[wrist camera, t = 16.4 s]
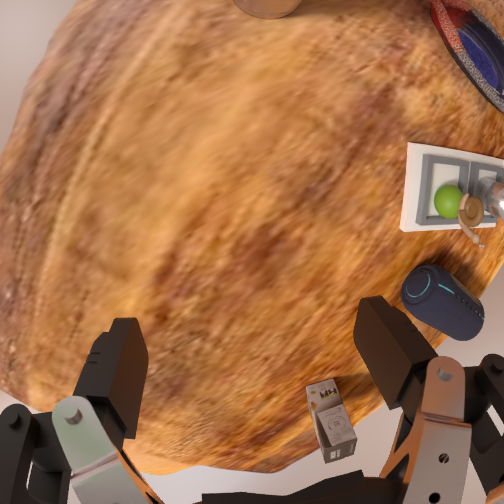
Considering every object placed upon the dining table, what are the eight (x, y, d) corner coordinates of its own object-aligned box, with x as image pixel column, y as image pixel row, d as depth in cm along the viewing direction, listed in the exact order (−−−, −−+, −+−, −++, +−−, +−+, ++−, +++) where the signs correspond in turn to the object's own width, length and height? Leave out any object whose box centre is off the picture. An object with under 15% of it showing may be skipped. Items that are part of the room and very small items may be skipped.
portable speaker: (471, 293, 53) (496, 317, 44) (445, 326, 56) (468, 353, 47) (417, 246, 45) (452, 273, 36) (385, 291, 49) (413, 325, 40)
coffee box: (304, 385, 57) (324, 448, 42) (333, 377, 57) (358, 437, 42) (307, 407, 61) (325, 464, 46) (334, 399, 61) (354, 455, 46)
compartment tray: (407, 142, 37) (419, 144, 35) (500, 158, 40) (510, 162, 37) (399, 228, 43) (409, 235, 41) (490, 224, 45) (499, 229, 43)
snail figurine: (423, 216, 41) (471, 247, 30) (431, 178, 39) (484, 201, 28) (444, 219, 42) (491, 248, 31) (452, 183, 39) (503, 206, 28)
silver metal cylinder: (476, 175, 39) (511, 190, 31) (493, 178, 40) (527, 192, 31) (471, 207, 42) (505, 225, 33) (488, 208, 42) (520, 225, 34)
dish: (503, 138, 38) (520, 143, 33) (405, 21, 29) (424, 15, 24) (520, 88, 33) (536, 90, 29) (431, -24, 24) (447, -31, 20)
